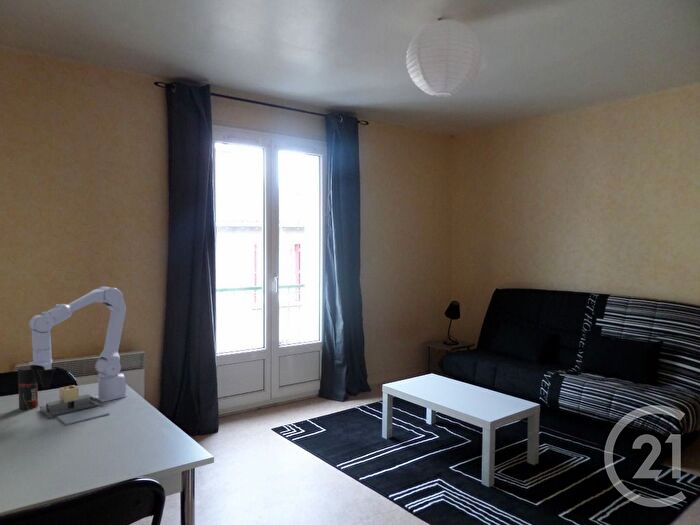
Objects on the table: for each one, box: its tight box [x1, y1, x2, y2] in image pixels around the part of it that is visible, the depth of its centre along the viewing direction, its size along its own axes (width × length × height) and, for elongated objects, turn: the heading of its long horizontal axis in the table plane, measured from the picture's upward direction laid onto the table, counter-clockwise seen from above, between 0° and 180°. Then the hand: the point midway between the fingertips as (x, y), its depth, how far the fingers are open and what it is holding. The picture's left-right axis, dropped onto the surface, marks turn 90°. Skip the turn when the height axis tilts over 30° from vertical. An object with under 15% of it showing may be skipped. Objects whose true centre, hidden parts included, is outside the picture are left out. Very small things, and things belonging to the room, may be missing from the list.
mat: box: [56, 406, 110, 426], centre depth 174 cm, size 14×10×1 cm
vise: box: [39, 388, 99, 420], centre depth 181 cm, size 16×12×8 cm
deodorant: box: [17, 365, 39, 411], centre depth 183 cm, size 6×6×15 cm
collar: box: [58, 384, 80, 403], centre depth 181 cm, size 5×5×4 cm
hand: (43, 385), depth 177 cm, fingers open, 7 cm apart
